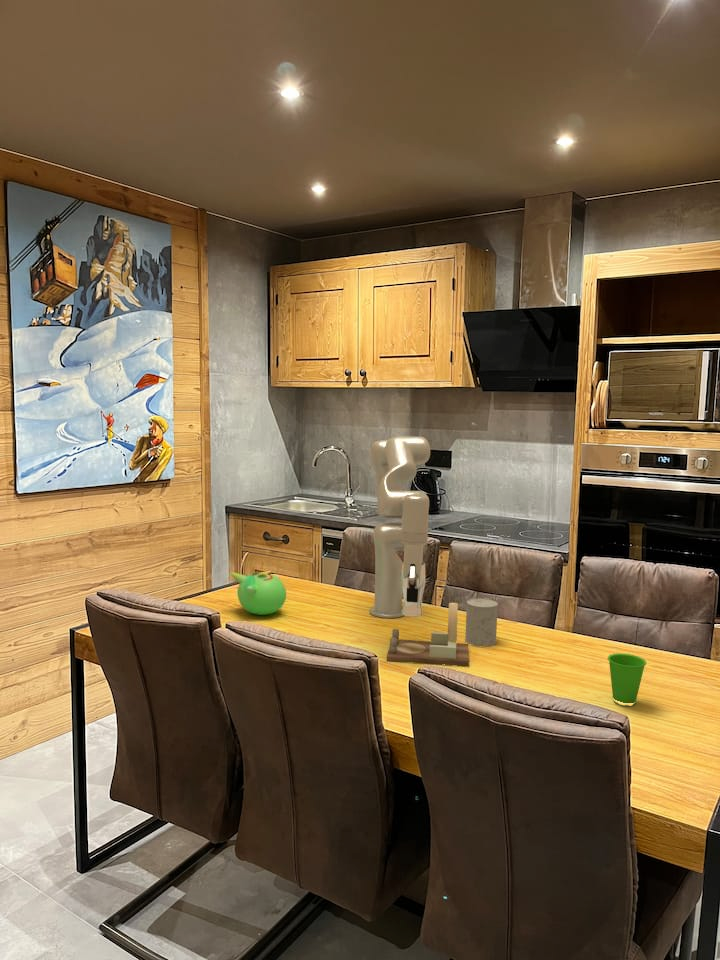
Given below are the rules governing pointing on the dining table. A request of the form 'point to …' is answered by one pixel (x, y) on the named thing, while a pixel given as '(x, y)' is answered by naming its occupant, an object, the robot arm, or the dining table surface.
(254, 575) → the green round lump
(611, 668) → the cup
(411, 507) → the robot arm
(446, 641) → the grey angular piece
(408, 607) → the beer glass
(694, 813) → the dining table surface
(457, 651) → the board
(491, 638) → the grey stone cylinder
